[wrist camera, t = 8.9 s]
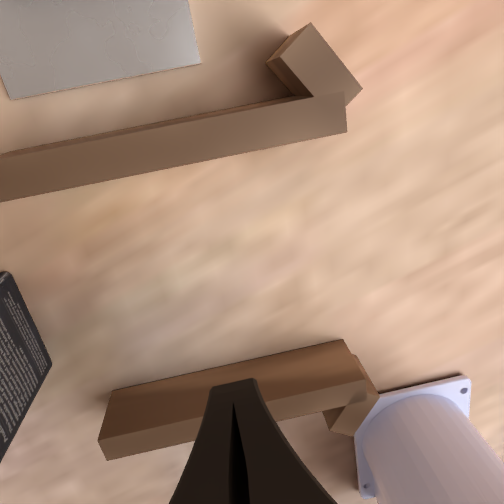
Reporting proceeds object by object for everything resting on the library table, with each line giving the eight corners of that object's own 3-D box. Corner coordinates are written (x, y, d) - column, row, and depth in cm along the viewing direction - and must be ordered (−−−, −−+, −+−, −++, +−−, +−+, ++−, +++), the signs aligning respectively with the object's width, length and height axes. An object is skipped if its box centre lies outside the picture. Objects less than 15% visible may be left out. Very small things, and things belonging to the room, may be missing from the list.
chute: (358, 385, 25) (382, 429, 22) (132, 438, 24) (121, 491, 21) (328, 28, 17) (358, 13, 13) (-14, 93, 16) (-68, 94, 13)
